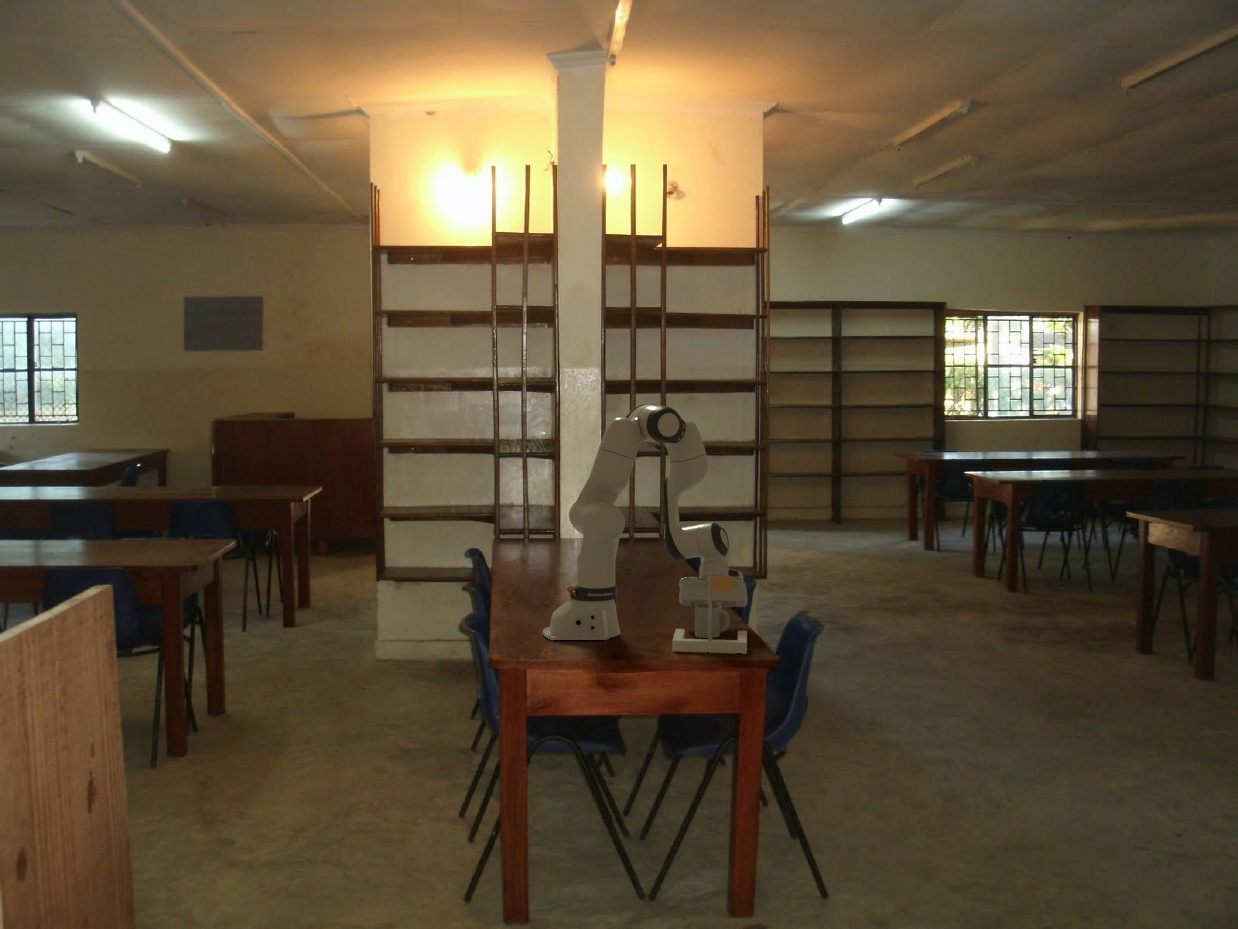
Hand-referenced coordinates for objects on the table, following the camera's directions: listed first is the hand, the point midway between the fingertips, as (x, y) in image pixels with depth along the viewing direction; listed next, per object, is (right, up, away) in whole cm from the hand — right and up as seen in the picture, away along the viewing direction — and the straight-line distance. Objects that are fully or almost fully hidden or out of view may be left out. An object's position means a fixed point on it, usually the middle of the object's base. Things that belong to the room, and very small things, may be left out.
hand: (712, 616), depth 317 cm
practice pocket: (-2, -6, -18) cm, 19 cm away
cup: (-1, -5, -6) cm, 8 cm away
